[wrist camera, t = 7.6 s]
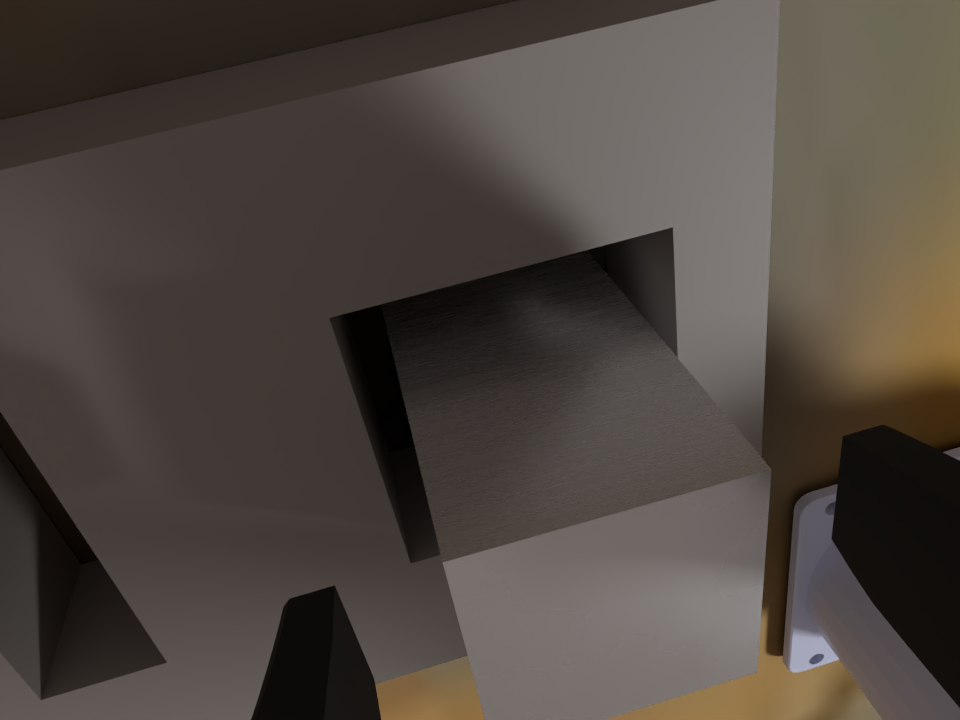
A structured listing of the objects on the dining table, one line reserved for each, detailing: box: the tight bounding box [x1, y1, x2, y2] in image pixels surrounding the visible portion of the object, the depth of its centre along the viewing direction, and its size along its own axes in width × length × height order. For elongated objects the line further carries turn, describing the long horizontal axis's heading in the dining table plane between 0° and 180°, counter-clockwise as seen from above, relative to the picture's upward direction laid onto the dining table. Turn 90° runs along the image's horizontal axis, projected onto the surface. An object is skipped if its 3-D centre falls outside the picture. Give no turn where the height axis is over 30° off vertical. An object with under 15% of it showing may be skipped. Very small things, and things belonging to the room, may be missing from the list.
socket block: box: [0, 0, 780, 720], centre depth 14 cm, size 18×12×4 cm, turn 99°
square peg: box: [381, 250, 772, 720], centre depth 13 cm, size 4×4×8 cm
